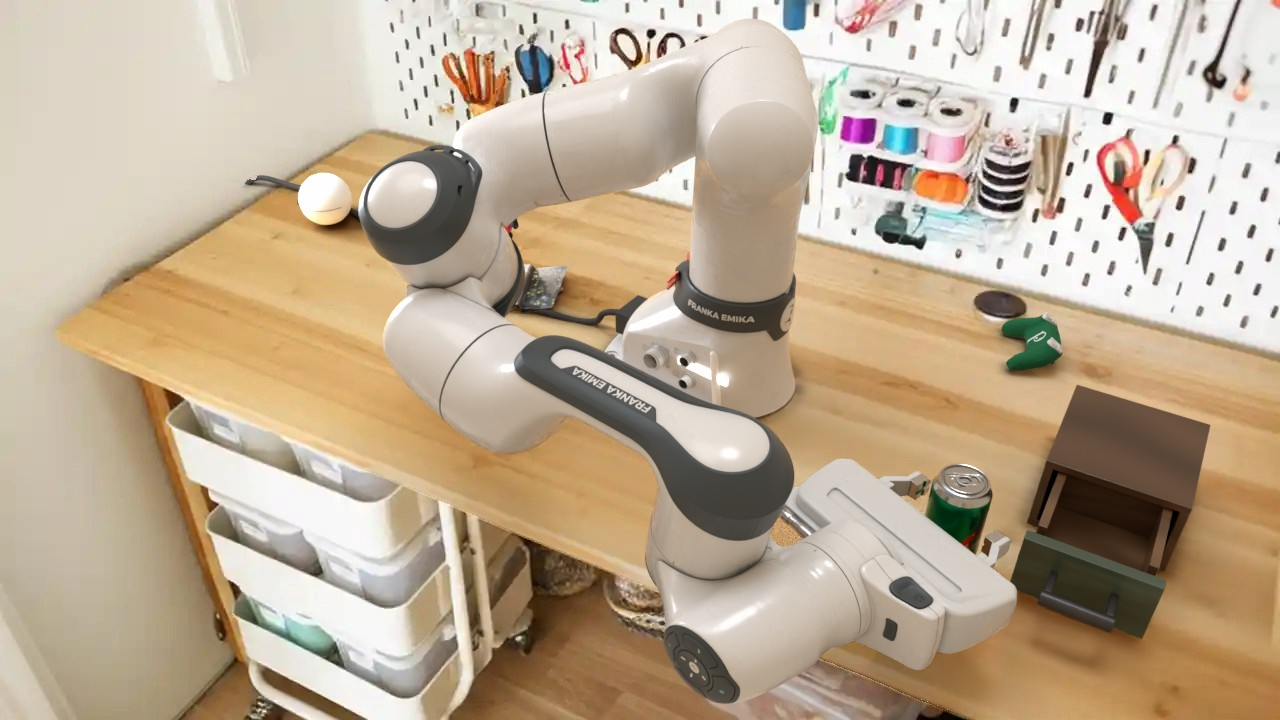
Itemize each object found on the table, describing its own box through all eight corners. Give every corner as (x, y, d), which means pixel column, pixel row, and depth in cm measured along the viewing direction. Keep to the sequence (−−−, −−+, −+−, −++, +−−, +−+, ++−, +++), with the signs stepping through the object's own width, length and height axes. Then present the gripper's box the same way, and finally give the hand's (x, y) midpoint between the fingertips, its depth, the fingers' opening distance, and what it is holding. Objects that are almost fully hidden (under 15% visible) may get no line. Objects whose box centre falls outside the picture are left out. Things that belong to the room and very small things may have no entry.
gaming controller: (1022, 388, 122) (1069, 363, 119) (1003, 366, 121) (1051, 341, 118) (1015, 344, 130) (1060, 320, 127) (998, 323, 129) (1042, 298, 125)
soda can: (904, 558, 98) (926, 461, 91) (957, 555, 98) (983, 458, 91) (921, 599, 94) (945, 502, 87) (975, 596, 94) (1004, 498, 87)
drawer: (1134, 673, 87) (1156, 622, 83) (996, 617, 91) (1012, 567, 88) (1164, 547, 98) (1185, 498, 95) (1040, 504, 103) (1056, 455, 99)
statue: (470, 315, 133) (443, 210, 124) (490, 276, 140) (466, 174, 131) (553, 315, 130) (532, 208, 122) (569, 275, 138) (550, 171, 129)
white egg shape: (323, 206, 153) (314, 160, 149) (366, 215, 151) (358, 169, 147) (279, 237, 146) (269, 189, 142) (324, 247, 144) (315, 199, 139)
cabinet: (1164, 572, 97) (1192, 509, 92) (1026, 522, 102) (1046, 460, 97) (1184, 486, 106) (1210, 424, 102) (1057, 444, 112) (1076, 384, 107)
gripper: (762, 529, 94) (872, 470, 101) (934, 686, 81) (1048, 607, 87) (767, 476, 90) (881, 419, 97) (949, 632, 77) (1067, 554, 83)
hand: (962, 509), depth 92 cm, fingers open, 8 cm apart
